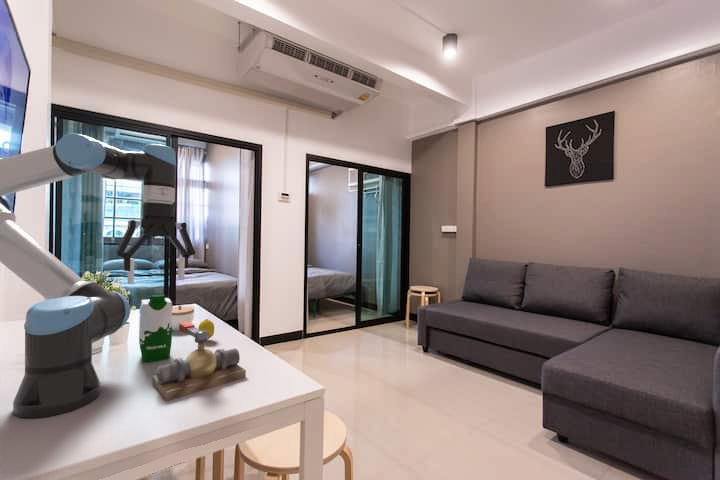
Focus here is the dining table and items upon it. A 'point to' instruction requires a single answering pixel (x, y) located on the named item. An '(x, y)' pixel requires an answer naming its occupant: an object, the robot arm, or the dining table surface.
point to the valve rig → (198, 372)
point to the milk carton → (155, 328)
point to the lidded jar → (181, 316)
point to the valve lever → (194, 332)
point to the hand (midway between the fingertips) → (157, 281)
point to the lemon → (207, 327)
